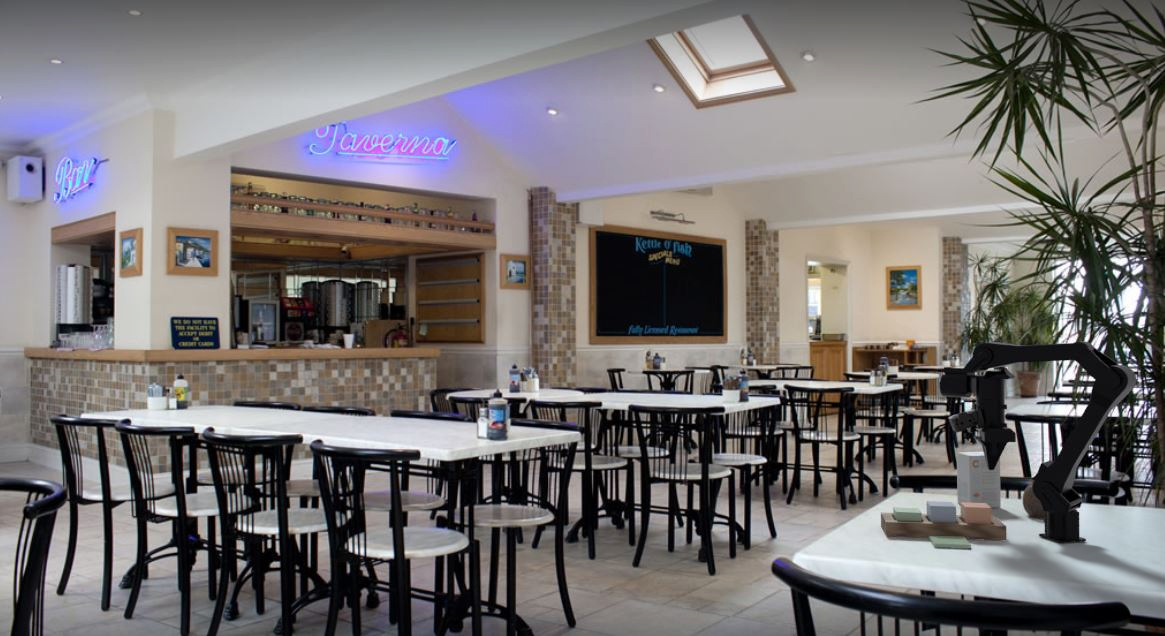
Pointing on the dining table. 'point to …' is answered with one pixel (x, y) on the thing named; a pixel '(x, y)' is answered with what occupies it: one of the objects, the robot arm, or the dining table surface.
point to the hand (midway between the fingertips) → (990, 469)
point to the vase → (1032, 503)
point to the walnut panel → (943, 528)
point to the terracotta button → (975, 513)
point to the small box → (977, 480)
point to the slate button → (941, 511)
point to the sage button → (907, 514)
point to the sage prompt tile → (949, 541)
